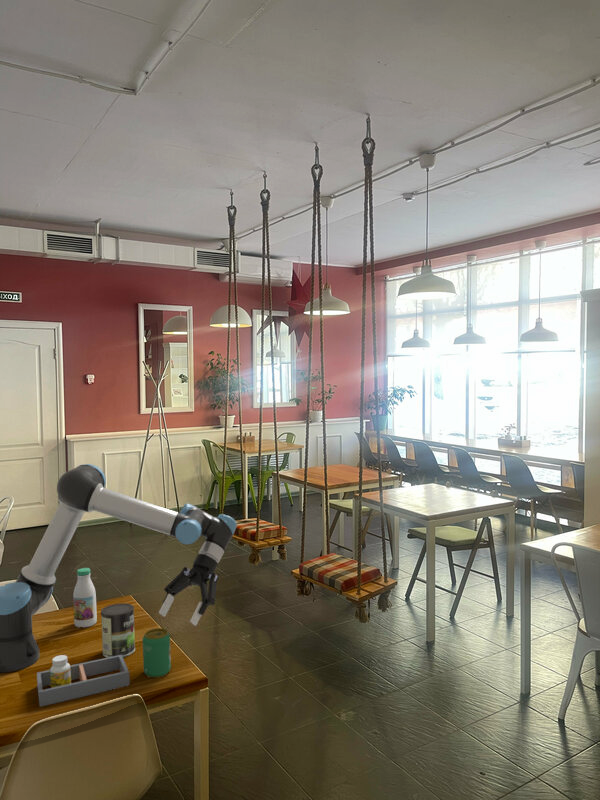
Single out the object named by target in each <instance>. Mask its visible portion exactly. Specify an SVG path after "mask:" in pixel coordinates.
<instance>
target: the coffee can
mask: <svg viewBox="0 0 600 800" xmlns="http://www.w3.org/2000/svg"><path fill="white" fill-rule="evenodd" d="M100 616H101V638H102V639H101V641H102V643H101V644H102V655H103V657H105V658H108V657H113V656H117V655H122V656H123V658H125V657H126V658H127V657H128V656H131V655H132V654H133V653H134V652H135V651H136V646H135V645H136V640H135V606H134V605H133V604H130V603H114V604H110V605H107V606H105V607H103V608H102V609H101V610H100Z"/></svg>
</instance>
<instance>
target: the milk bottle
mask: <svg viewBox="0 0 600 800" xmlns="http://www.w3.org/2000/svg"><path fill="white" fill-rule="evenodd" d="M76 577H77V581H76V584H75V586H74V590H73V597H72V599H73V601H72V602H73V620H74V621H73V622H74V626H75V627H76V628H80V627H83V628H89V627H91V626H94V625H96V623H97V620H98V617H97V616H98V615H97V614H98V613H97V596H96V588H95V586H94V583H93V581H92V579H91V569H90V568H89V567H82V568H79V569H77V570H76Z"/></svg>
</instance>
